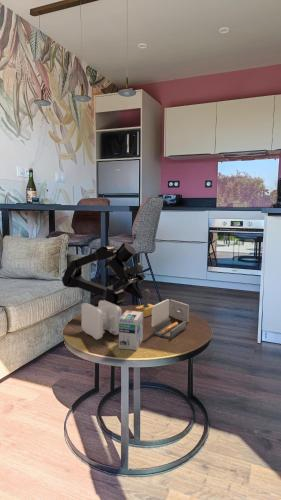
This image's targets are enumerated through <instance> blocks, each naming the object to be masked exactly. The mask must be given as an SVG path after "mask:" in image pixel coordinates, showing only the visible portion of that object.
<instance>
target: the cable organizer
mask: <svg viewBox="0 0 281 500" xmlns="http://www.w3.org/2000/svg"><path fill="white" fill-rule="evenodd" d="M122 315H123V311H122V308H121V306H120V307H119V306H117V305H115V304H113V303H110V302H108V301H106V300H104V299H103V300H98V306H95V305H93V304H90V303H89V302H83V303H81V329H82V330H83V332H84V333H85V334H87V335H90V336H91V337H92V338H93V339H95V340H96V341H98V340H101V339H103V335H105V333H106V332H105V331H108V332H109V333H110V334H112V335H114V336H117V335H119V318H120V317H121V316H122Z"/></svg>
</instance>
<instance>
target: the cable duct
mask: <svg viewBox="0 0 281 500" xmlns="http://www.w3.org/2000/svg"><path fill="white" fill-rule="evenodd" d="M186 329H187V322H186V321H182V322H180V323H178V321H175V322H173V323H171V317H169V318H167V319H166V320H164V321H162V322H161V323H159V324H157V325H156V326H154V327H153V328H152V335H153V336H158V337H162V338H167V339H170V340H172V339H173V338H175V337H176V336H177V335H179V334H181V333H182V332H183V331H184V330H186Z"/></svg>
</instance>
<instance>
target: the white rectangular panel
mask: <svg viewBox="0 0 281 500" xmlns="http://www.w3.org/2000/svg"><path fill="white" fill-rule="evenodd" d="M169 301H170V299H168V298H167V299H165V300H163V301H160V302H158V303H156V304H153V305H154V306H152V315H151V325H150V326H151V327H154V326H156V325H158V324H159V323H161V322H163V321H164V320H166V319H168V318H170V316H169Z"/></svg>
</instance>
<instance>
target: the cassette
mask: <svg viewBox="0 0 281 500" xmlns="http://www.w3.org/2000/svg"><path fill="white" fill-rule="evenodd" d="M169 317H170V318H174V319H177V320H179V321H182V322H184V321H186V323H189V322H190V320H189V317H190V305H189V304H187V303H184V302H181V301H178V300H174V299H169Z"/></svg>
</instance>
